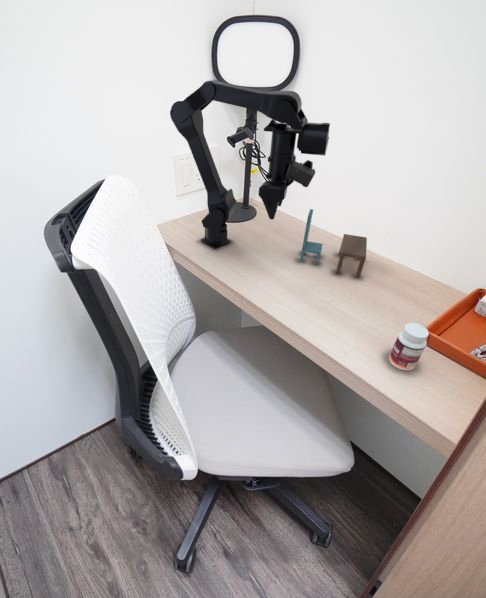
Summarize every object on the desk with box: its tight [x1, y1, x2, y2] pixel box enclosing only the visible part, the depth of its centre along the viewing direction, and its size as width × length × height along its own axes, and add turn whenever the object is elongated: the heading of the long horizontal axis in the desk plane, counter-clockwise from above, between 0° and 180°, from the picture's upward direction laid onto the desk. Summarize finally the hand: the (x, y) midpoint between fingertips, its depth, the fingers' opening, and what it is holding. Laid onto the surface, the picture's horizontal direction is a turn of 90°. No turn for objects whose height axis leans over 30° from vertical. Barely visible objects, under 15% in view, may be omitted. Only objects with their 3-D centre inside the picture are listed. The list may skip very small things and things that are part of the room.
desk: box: [335, 233, 368, 279], centre depth 96 cm, size 6×11×6 cm, turn 160°
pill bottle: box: [388, 322, 430, 371], centre depth 67 cm, size 5×5×8 cm
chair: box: [299, 208, 324, 266], centre depth 97 cm, size 5×5×14 cm
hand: (275, 212), depth 97 cm, fingers open, 9 cm apart
